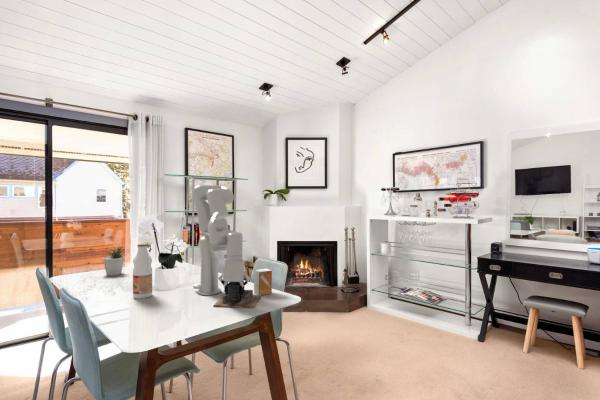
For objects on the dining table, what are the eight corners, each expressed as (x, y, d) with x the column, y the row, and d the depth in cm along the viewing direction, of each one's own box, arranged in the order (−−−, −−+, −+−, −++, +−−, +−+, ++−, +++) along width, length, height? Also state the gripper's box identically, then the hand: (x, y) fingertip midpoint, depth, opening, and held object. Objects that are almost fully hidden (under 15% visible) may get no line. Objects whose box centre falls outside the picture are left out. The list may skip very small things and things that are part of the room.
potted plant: (119, 276, 227) (119, 246, 226) (99, 276, 227) (99, 246, 226) (129, 272, 239) (129, 243, 239) (109, 272, 239) (109, 243, 239)
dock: (213, 306, 166) (213, 297, 166) (224, 295, 184) (224, 287, 184) (254, 307, 165) (254, 298, 165) (260, 296, 183) (260, 288, 183)
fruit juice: (147, 299, 178) (147, 245, 178) (129, 298, 178) (129, 245, 178) (155, 293, 188) (155, 242, 187) (138, 293, 188) (138, 242, 187)
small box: (258, 296, 184) (258, 272, 184) (253, 293, 189) (253, 269, 189) (272, 293, 189) (272, 270, 188) (266, 291, 194) (266, 268, 194)
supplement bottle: (228, 299, 171) (228, 275, 171) (242, 299, 171) (242, 275, 171) (226, 303, 164) (226, 279, 164) (240, 303, 165) (240, 278, 164)
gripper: (214, 258, 164) (214, 295, 165) (250, 259, 163) (250, 297, 163) (219, 255, 172) (219, 291, 172) (253, 256, 170) (253, 292, 171)
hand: (234, 293), depth 168 cm, fingers closed on supplement bottle, 6 cm apart
